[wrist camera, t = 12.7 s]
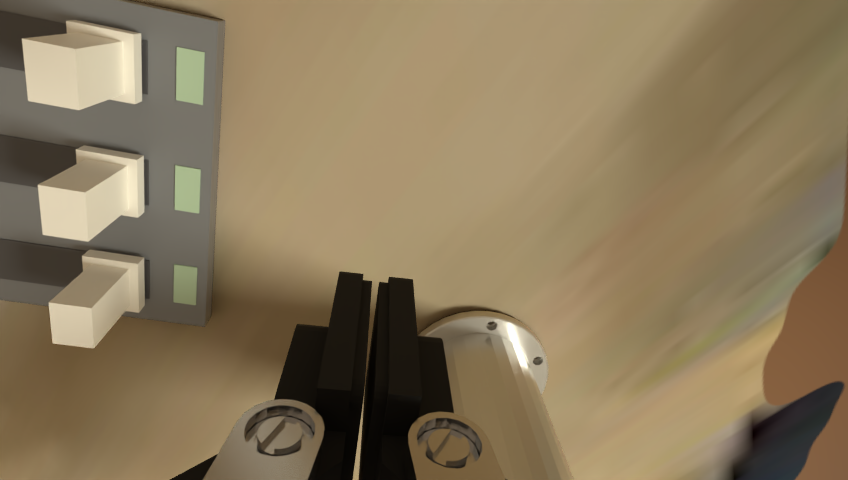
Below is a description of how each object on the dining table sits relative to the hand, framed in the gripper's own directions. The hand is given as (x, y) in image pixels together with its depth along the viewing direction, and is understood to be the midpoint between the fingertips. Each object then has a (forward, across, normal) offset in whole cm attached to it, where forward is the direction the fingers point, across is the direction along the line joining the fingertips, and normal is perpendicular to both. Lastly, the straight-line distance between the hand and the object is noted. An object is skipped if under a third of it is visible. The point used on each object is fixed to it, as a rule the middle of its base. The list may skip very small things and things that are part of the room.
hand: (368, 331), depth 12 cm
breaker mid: (+24, +17, +6) cm, 30 cm away
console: (+26, +21, +6) cm, 34 cm away
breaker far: (+24, +17, +14) cm, 33 cm away
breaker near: (+24, +17, -1) cm, 29 cm away
